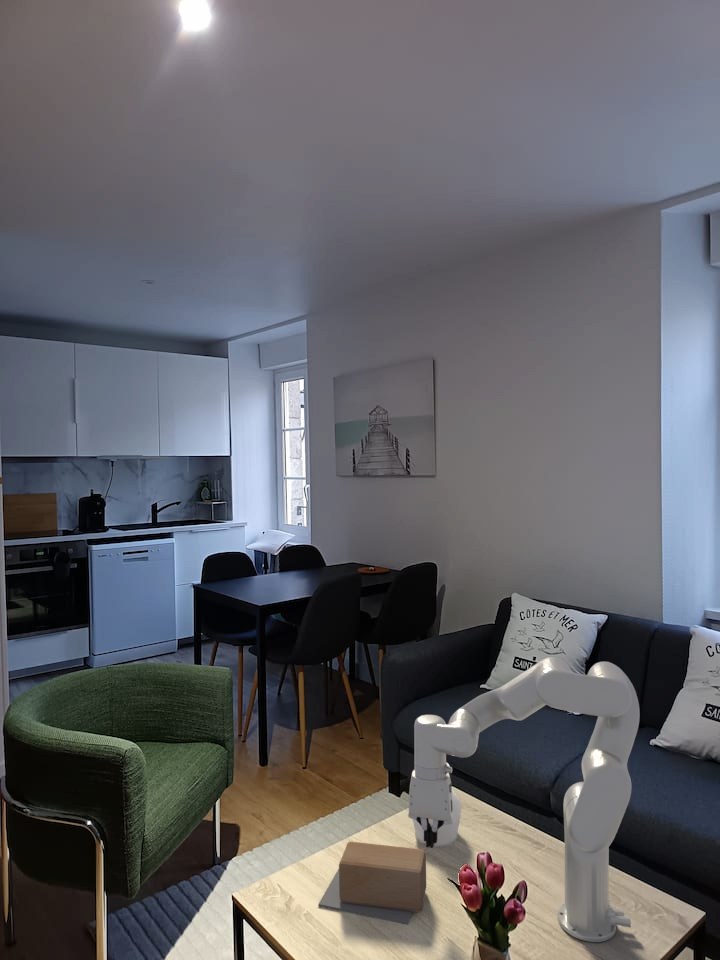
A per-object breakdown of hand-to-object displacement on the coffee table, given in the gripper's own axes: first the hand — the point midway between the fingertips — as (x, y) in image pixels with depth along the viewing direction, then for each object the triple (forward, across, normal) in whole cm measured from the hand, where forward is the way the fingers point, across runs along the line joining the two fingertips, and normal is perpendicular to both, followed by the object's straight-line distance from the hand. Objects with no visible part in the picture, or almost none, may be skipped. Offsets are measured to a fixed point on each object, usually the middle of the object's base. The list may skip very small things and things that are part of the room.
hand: (430, 844), depth 161 cm
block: (+9, +1, +1) cm, 9 cm away
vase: (+14, +4, -29) cm, 33 cm away
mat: (+14, +14, 0) cm, 20 cm away
